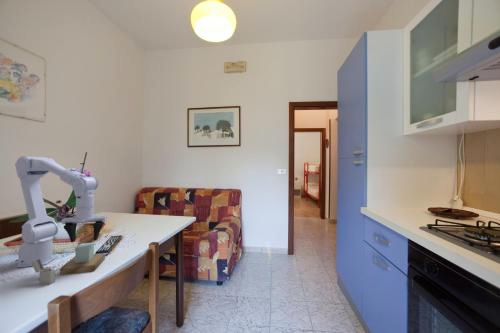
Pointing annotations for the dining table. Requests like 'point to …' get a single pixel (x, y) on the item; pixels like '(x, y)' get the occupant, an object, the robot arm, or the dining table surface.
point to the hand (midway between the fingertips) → (84, 240)
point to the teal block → (84, 252)
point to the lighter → (44, 272)
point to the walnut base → (82, 265)
